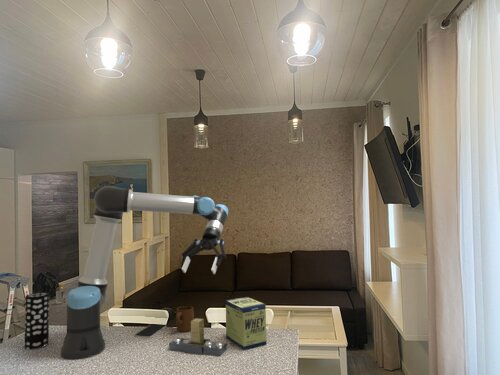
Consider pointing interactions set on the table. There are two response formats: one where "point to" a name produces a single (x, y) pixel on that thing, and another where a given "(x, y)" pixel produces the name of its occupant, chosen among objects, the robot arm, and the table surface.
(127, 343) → the table surface
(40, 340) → the white-spotted black cylinder
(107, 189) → the robot arm
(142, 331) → the smartphone
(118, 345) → the table surface
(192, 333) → the gold block
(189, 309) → the mug
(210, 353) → the grey link plate
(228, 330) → the protein box
